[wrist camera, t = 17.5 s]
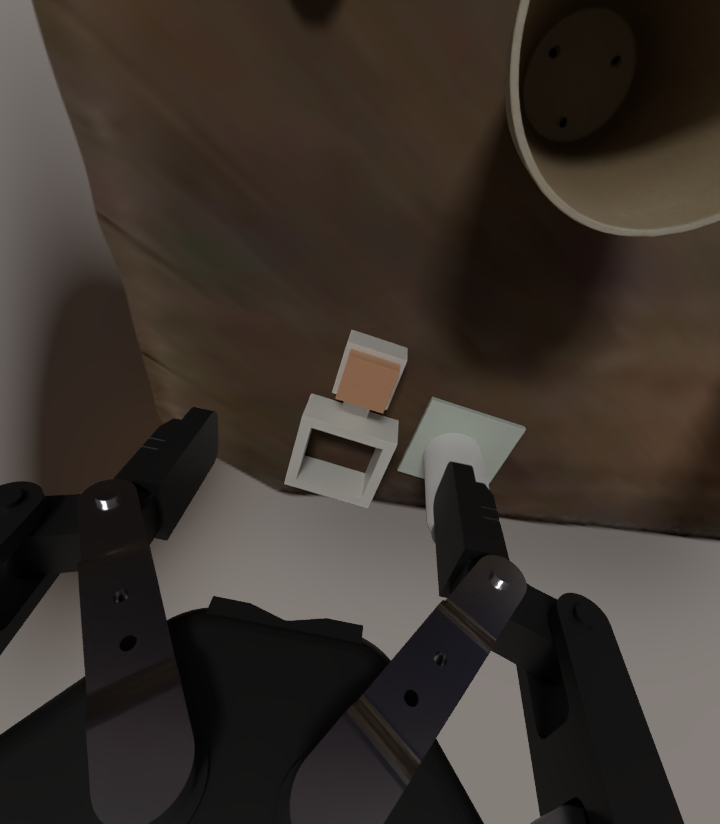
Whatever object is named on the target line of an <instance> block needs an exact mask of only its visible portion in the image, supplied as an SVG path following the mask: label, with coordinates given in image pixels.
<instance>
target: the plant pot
mask: <svg viewBox="0 0 720 824" xmlns="http://www.w3.org/2000/svg"><path fill="white" fill-rule="evenodd" d="M552 48H554V49H555V50H556V55H555V57H554V58H552V57H550V54H549V52H550V50H551V49H552ZM615 57H619V61H618V62H617V63H616V64H612V63H611V61H612V59H614V58H615ZM505 106H506V115H507V121H508V125H509V130H510V133H511V137H512V140H513V143H514V145H515V148H516V150H517V153H518V155H519V157H520V159H521V161H522V163H523V165H524V167H525V168H526V170H527V171H528V173H529V174H530V176H531V177H532V179H533V180H534V182H535V183H536V184H537V186H538V187H539V189H540V190H541V191H542V193H543V194H544V195H545V196H546V197H547V198H548V199H549V201H550V202H551V203H553V204H554V205H555V206H556V207H557V208H558V209H559V210H560V211H562V212H563V213H564V214H566V215H567V216H569V217H570V218H571V219H573V220H575V221H577V222H578V223H580V224H582V225H585V226H587V227H589V228H592V229H594V230H597V231H601V232H604V233H608V234H613V235H620V236H629V237H654V236H665V235H671V234H677V233H682V232H686V231H690V230H693V229H697V228H700V227H704V226H707V225H710V224H712V223H715V222H717V221H720V0H520V2H519V6H518V9H517V13H516V17H515V21H514V24H513V28H512V33H511V38H510V43H509V48H508V55H507V63H506V71H505ZM564 118H565V119H566V124H565V125H564V126H563V127H560V125H559V123H560V121H561V120H562V119H564Z"/></svg>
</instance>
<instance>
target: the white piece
mask: <svg viewBox="0 0 720 824" xmlns="http://www.w3.org/2000/svg"><path fill="white" fill-rule="evenodd" d="M351 349H354V350H357V351H360V352H363V353H366V354H369V355H373V356H376V357H379V358H382V359H385V360H388V361H391V362H394V363H397V364H400V373H399V376H398V378H397V381H396V383H395V386H394V388H393V390H392V393H391V395H390V398H389V400H388V403H387V405H386V408H385V410H387V409H388V406H389V404H390V401H391V399H392V397H393V394H394V392H395V389H396V387H397V385H398V382H399V380H400V377H401V375H402V373H403V370H404V368H405V365H406V363H407V352H408V348H406V347H403V346H400V345H397V344H394V343H391V342H388V341H385V340H382V339H379V338H376V337H373V336H370V335H367V334H364V333H360V332H357V331H354V330H351V333H350V336H349V339H348V342H347V345H346V349H345V352H344V355H343V358H342V362H341V365H340V368H339V371H338V375H337V378H336V381H335V384H334V388H333V391H332V393H335V394H337V391H338V388H339V385H340V382H341V379H342V375H343V372H344V369H345V366H346V363H347V360H348V356H349V353H350V350H351ZM369 411H370V409H367V408H363V407H360V406H357V405H354V404H351V403H347V402H344V401H343V403H341V402H338V401H334V400H331V399H328V398H325V397H322V396H319V395H315V394H312V393H311V396H310V398H309V401H308V403H307V406H306V408H305V410H304V413H303V415H302V419H301V423H300V426H299V430H298V434H297V438H296V441H295V445H294V449H293V453H292V456H291V460H290V464H289V468H288V471H287V475H286V479H285V482H284V484H286V485H289V486H293V487H296V488H300V489H303V490H306V491H310V492H313V493H316V494H320V495H323V496H327V497H330V498H333V499H337V500H340V501H343V502H347V503H351V504H354V505H357V506H360V507H364V508H368V507H369V505H370V503H371V501H372V499H373V497H374V494H375V492H376V490H377V488H378V486H379V484H380V481H381V479H382V477H383V475H384V473H385V471H386V468H387V466H388V464H389V462H390V460H391V457H392V455H393V453H394V451H395V449H396V447H397V442H398V422H399V421H398V420H395V419H392V418H388V417H385V416H382V415H379V414H376V413H373V412H369ZM312 428H314V429H317V430H320V431H324V432H327V433H330V434H333V435H337V436H340V437H343V438H346V439H350V440H353V441H356V442H359V443H363V444H366V445H369V446H372V447H376V449H375V451H374V453H373V456H372V458H371V461H370V463H369V465H368V468H367V470H366V472H365V473H362V472H358V471H355V470H352V469H348V468H345V467H342V466H339V465H335V464H332V463H329V462H325V461H322V460H319V459H315V458H312V457H309V456H305V452H306V449H307V445H308V442H309V438H310V435H311V432H312Z"/></svg>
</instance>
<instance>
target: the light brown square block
mask: <svg viewBox="0 0 720 824" xmlns="http://www.w3.org/2000/svg"><path fill="white" fill-rule="evenodd" d="M399 373H400V364H397V363H394V362H391V361H388V360H385V359H382V358H379V357H376V356H373V355H369V354H366V353H363V352H360V351H357V350H354V349H351V350H350V353H349V356H348V360H347V363H346V366H345V369H344V372H343V375H342V379H341V382H340V385H339V388H338V391H337V394H336V398H335V399H338V400H341V401H344V402H347V403H351V404H354V405H357V406H360V407H363V408H367V409H370V410H373V411H376V412H379V413H382V414H383V412H384V410H385V408H386V405H387V403H388V400H389V398H390V395H391V393H392V390H393V388H394V386H395V383H396V381H397V378H398V376H399Z"/></svg>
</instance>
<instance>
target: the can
mask: <svg viewBox="0 0 720 824" xmlns="http://www.w3.org/2000/svg"><path fill="white" fill-rule="evenodd" d="M450 461H452V462H457V463H462V464H467V465H471V466H472V467H473V470H474V475H475V479H476V482H480V483H484V484H485V485H486V486H487V488H488V489H489V485H488V481H487V476H486V472H485V467H484V463H483V459H482V455H481V451H480V448H479V445H478V444H477V442H476V441H475V440H474V439H473V438H471V437H469V436H467V435H464V434H460V433H446V434H442V435H439V436H437V437H436V438H434V439H433V440H431V441H430V442H429V444H428V445H427V447H426V449H425V452H424V469H425V497H426V518H427V525H428V528H429V530H430V532H431V533H432V538H433V541H434V542H435V529H434V515H433V504H434V498H435V494H436V491H437V489H438V486H439V484H440V481H441V479H442V476H443V474H444V472H445V469H446V467H447V465H448V463H449V462H450ZM435 544H436V542H435Z"/></svg>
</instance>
